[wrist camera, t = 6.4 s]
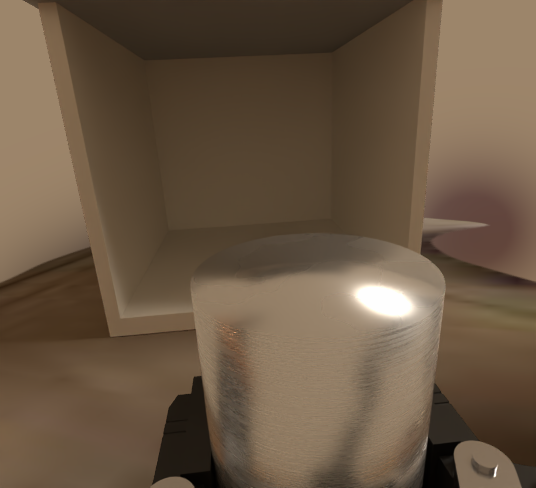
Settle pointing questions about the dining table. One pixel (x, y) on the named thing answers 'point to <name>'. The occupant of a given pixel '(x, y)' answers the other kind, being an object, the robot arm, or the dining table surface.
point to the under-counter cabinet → (237, 131)
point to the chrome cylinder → (318, 361)
